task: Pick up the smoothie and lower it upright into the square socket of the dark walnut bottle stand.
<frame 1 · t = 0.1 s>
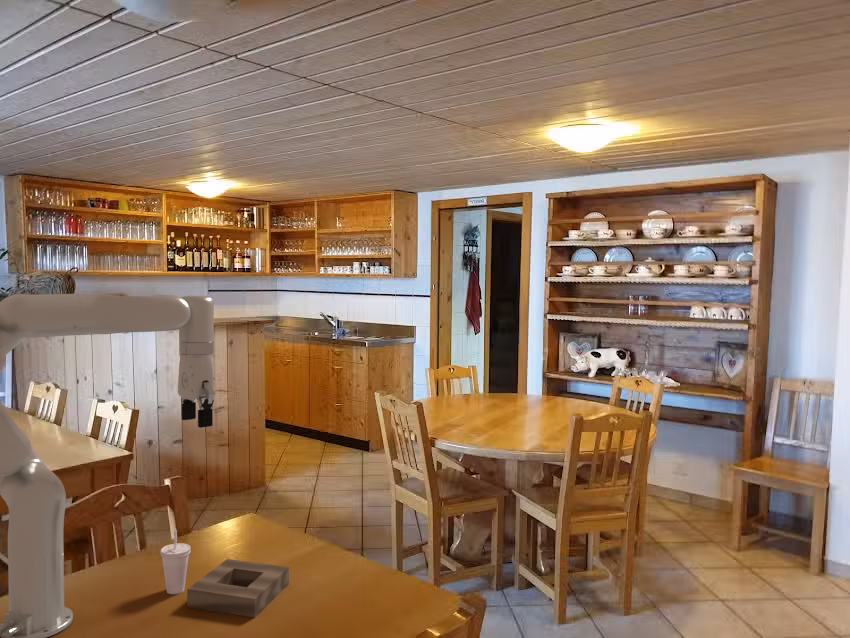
hand: (196, 423, 150), 37 cm above the table, tool pointing down, fingers open, 9 cm apart
bottle stand: (240, 595, 145), on the table
smoothie: (175, 591, 147), on the table
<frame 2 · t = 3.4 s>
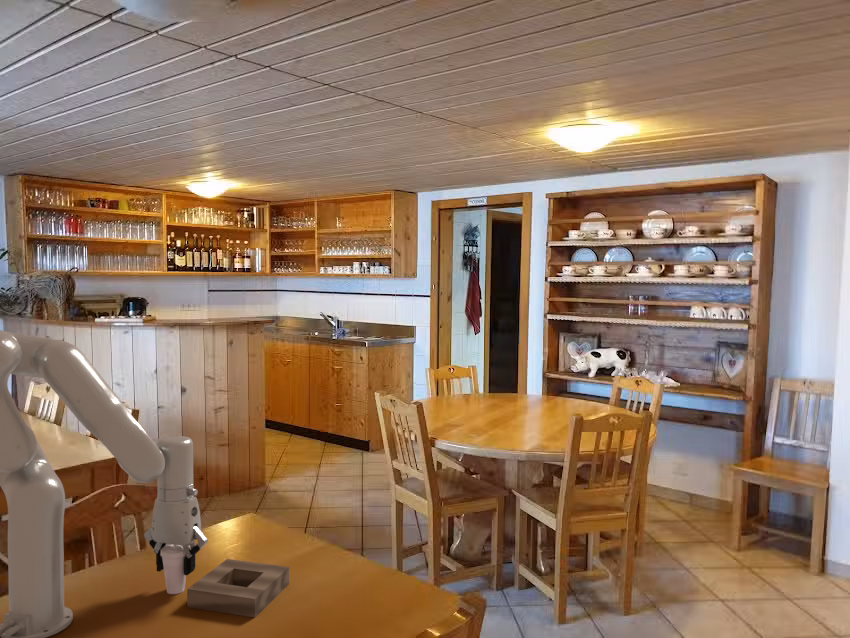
hand: (175, 570, 147), 5 cm above the table, tool pointing down, fingers closed on smoothie, 6 cm apart
smoothie: (175, 591, 147), on the table, touching gripper
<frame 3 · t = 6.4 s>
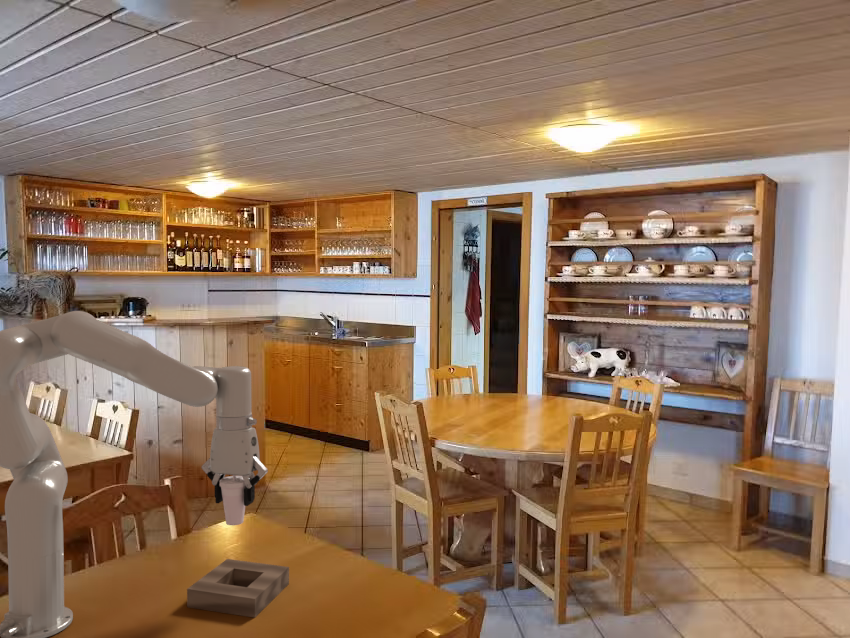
hand: (234, 502, 145), 21 cm above the table, tool pointing down, fingers closed on smoothie, 6 cm apart
smoothie: (234, 523, 145), point 16 cm above the table, touching gripper
when the fingers open (6 cm above the table, at t = 9.2 s): smoothie drops 1 cm, resting in bottle stand.
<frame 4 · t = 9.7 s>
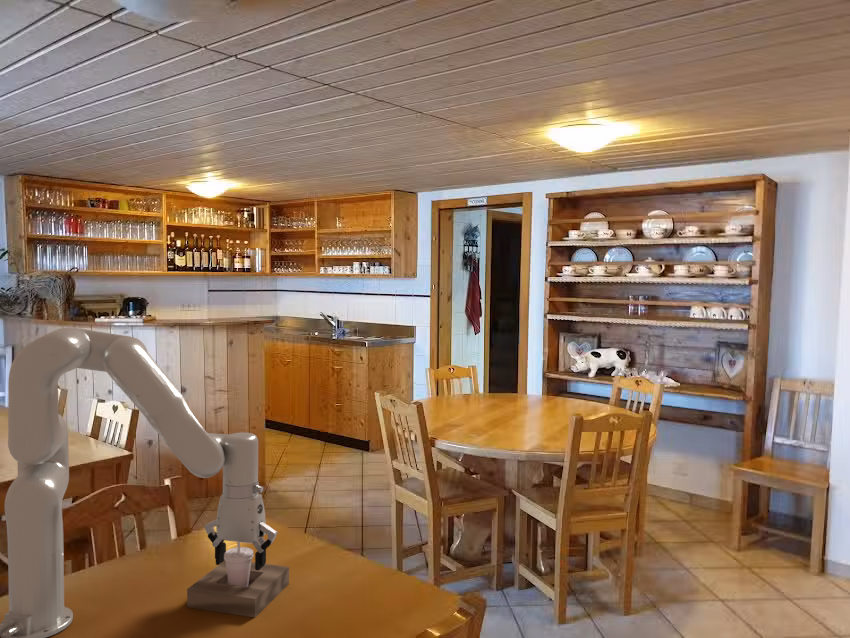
hand: (240, 565, 145), 7 cm above the table, tool pointing down, fingers open, 9 cm apart
smoothie: (238, 595, 145), resting in bottle stand
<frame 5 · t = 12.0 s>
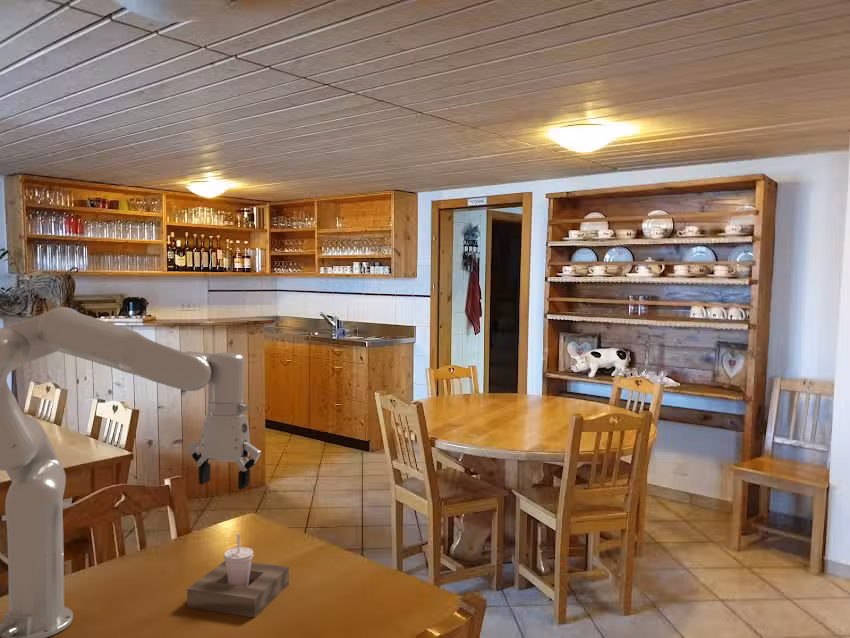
hand: (223, 485, 145), 25 cm above the table, tool pointing down, fingers open, 9 cm apart
nothing on the table moved.
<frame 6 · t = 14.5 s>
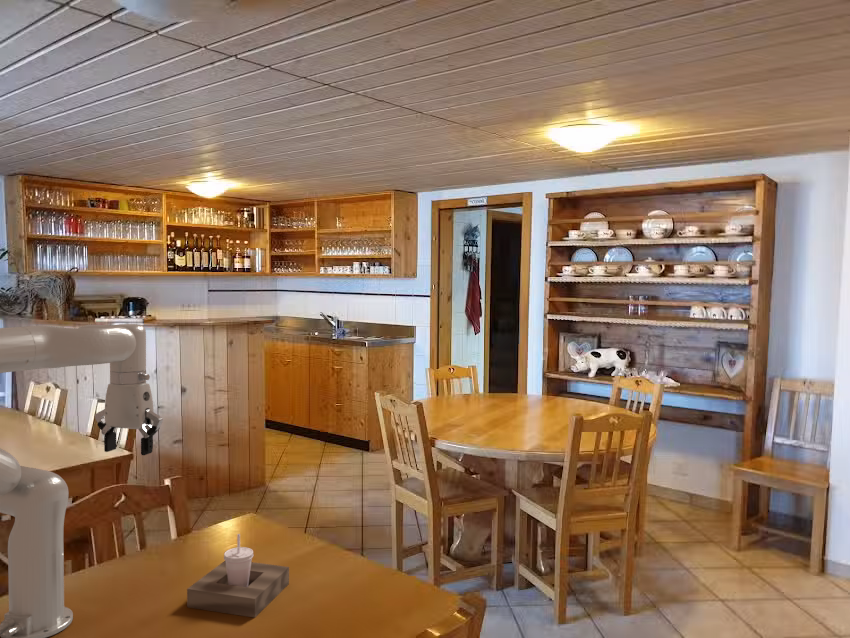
hand: (128, 452, 150), 30 cm above the table, tool pointing down, fingers open, 9 cm apart
nothing on the table moved.
at the end: smoothie 0.4 cm off-centre on the bottle stand, point 0.0 cm above the bottle stand's base; smoothie tilted 0°; the gripper is holding nothing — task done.
